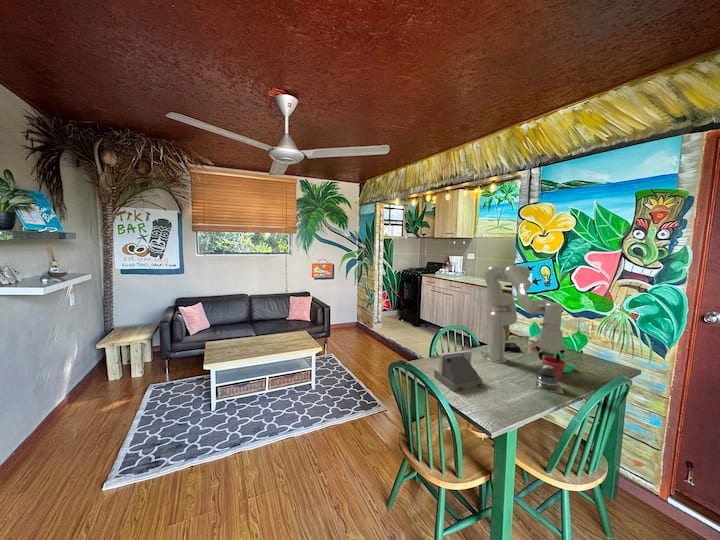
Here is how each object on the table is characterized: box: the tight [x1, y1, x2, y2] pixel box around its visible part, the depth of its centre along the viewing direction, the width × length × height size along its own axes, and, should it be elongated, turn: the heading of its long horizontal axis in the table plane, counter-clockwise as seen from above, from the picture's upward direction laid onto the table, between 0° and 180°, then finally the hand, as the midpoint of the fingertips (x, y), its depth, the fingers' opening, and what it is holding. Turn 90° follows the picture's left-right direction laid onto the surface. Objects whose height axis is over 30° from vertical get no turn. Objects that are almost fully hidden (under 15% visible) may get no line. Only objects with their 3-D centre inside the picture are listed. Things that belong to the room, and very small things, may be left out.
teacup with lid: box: [527, 335, 548, 355], centre depth 202 cm, size 12×9×12 cm
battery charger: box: [504, 342, 521, 353], centre depth 207 cm, size 13×10×4 cm
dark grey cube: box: [540, 364, 555, 378], centre depth 153 cm, size 6×6×6 cm
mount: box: [553, 351, 576, 374], centre depth 175 cm, size 12×8×10 cm, turn 117°
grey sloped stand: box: [433, 349, 484, 392], centre depth 157 cm, size 21×21×15 cm
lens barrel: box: [531, 370, 565, 395], centre depth 154 cm, size 13×11×6 cm
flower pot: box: [542, 356, 566, 381], centre depth 165 cm, size 11×11×10 cm
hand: (548, 360), depth 153 cm, fingers open, 6 cm apart
